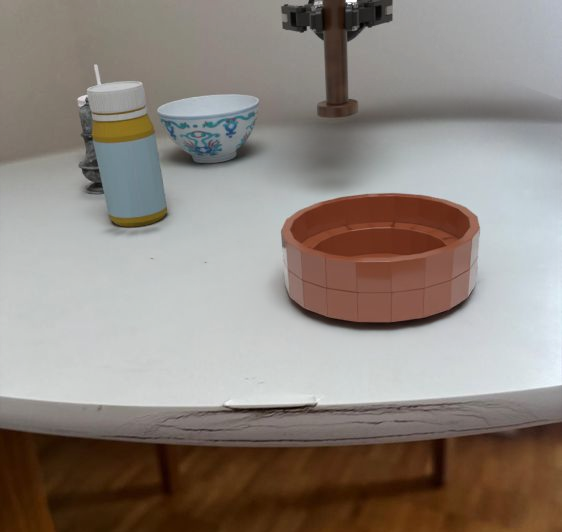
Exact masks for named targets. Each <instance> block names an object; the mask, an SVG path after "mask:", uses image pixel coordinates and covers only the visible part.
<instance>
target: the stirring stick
mask: <svg viewBox="0 0 562 532" xmlns="http://www.w3.org/2000/svg"><path fill="white" fill-rule="evenodd" d="M322 8H323V29H324V31H323V34H324V41H323V54H324V55H323V57H324V80H325V82H324V83H325V100H321V101H319V102H317V103H316V114H317V117H320V118H325V119H326V118H327V119H338V118H340V119H341V118H347V117H351V116H356V115H357V114H358V113H359V101H358V100H357V99H354V98H349V65H348V64H349V63H348V61H349V60H348V58H349V57H348V42H347V31H346V16H345V8H346V0H322Z"/></svg>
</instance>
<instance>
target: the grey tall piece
mask: <svg viewBox="0 0 562 532" xmlns="http://www.w3.org/2000/svg"><path fill="white" fill-rule="evenodd" d="M85 101H86V104H84V105H83V106H82V107H79V109H78V116H79V120H80V125H81V130H82V132H81V133H80V137H81V138H82V139H83V142H84V146H85V159H84V160H82V161H80V162H79V163H78V168H79V169H81V172H82V174H83V176H84V177H85V179H86V180H88V181H89V182H92V183H90V184H89V185H88V187H86V189H85V191H86V193H88V194H90V195H91V194H92V195H104V190H103V186H102V181H101V176H100V172H99V167H98V162H97V157H96V153H95V148H94V143H93V137H92V129H93V118H92V111H91V109H90V105H89V100H88V98H87V97H86V98H85Z"/></svg>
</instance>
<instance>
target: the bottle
mask: <svg viewBox="0 0 562 532" xmlns="http://www.w3.org/2000/svg"><path fill="white" fill-rule="evenodd" d="M86 95H87V96H88V100H89V105H90V109H91V111H92V118H93V129H92V137H93V143H94V148H95V153H96V157H97V162H98V167H99V172H100V176H101V181H102V186H103V190H104V194H103V196H104V201H105V205H106V209H107V213H108V217H109V219H110V220H111V221H112V222H113V223H115V224H116V225H117V226H120V227H127V228H131V227H133V228H135V227H144V226H148V225H152V224H154V223H158V222H159V221H161V220H162V219H163V218H164V217H165V216H166V214H167V212H168V204H167V197H166V192H165V185H164V184H165V183H164V180H163V173H162V167H161V160H160V155H159V149H158V144H157V136H156V131H155V126H154V124H153V122H152V120H151V118H150V116H149V114H148V106H147V99H146V93H145V88H144V85H143V82H141V81H137V80H135V81H134V80H128V81H125V80H123V81H113V82H107V83H101V84H100V85H98V84H96V85H93V86H89V87H88V88H87V89H86Z"/></svg>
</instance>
